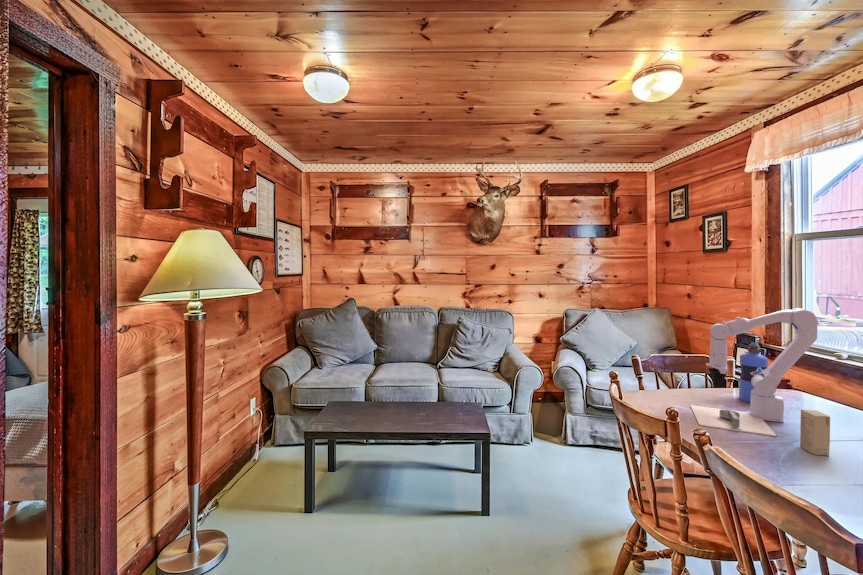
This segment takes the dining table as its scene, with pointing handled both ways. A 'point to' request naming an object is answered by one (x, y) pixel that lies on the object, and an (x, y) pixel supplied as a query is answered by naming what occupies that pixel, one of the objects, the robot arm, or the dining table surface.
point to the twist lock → (730, 416)
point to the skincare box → (815, 432)
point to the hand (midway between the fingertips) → (717, 387)
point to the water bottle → (750, 370)
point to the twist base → (746, 423)
